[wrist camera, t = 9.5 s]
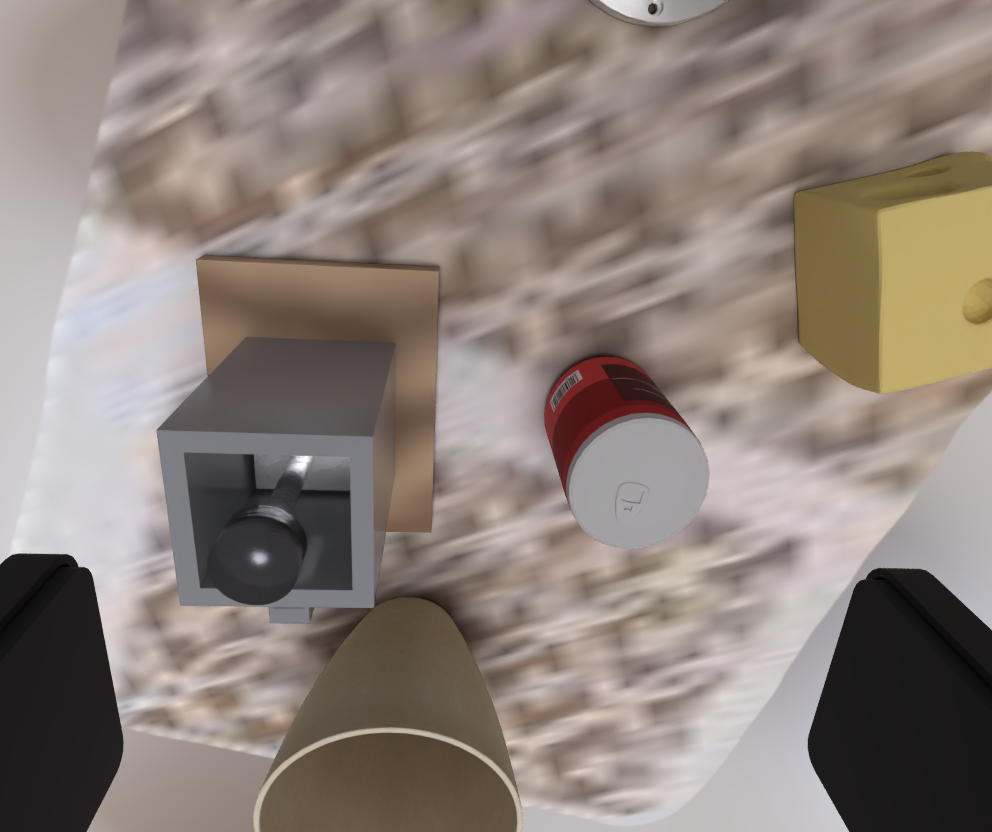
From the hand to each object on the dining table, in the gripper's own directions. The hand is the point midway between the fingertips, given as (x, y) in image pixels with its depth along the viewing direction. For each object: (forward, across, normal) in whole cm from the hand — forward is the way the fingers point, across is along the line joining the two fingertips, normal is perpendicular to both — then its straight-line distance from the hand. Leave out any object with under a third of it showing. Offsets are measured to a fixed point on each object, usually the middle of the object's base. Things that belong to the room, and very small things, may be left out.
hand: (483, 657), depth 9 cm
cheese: (+37, -26, 0) cm, 45 cm away
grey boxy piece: (+35, +8, +12) cm, 38 cm away
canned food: (+36, -10, +11) cm, 39 cm away
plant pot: (+36, +3, +30) cm, 47 cm away
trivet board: (+36, +8, +11) cm, 39 cm away
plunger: (+31, +8, +11) cm, 34 cm away
